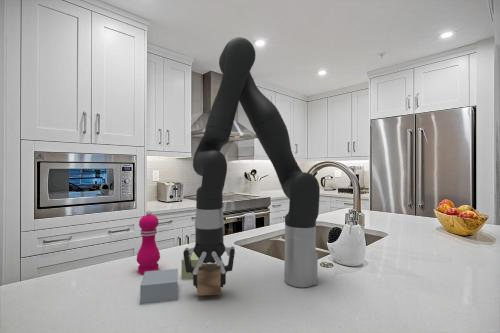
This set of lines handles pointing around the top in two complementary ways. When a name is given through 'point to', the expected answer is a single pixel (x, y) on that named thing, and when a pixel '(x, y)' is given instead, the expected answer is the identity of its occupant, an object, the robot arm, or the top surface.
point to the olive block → (184, 273)
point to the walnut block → (209, 280)
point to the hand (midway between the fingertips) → (209, 286)
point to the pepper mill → (148, 244)
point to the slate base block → (159, 286)
